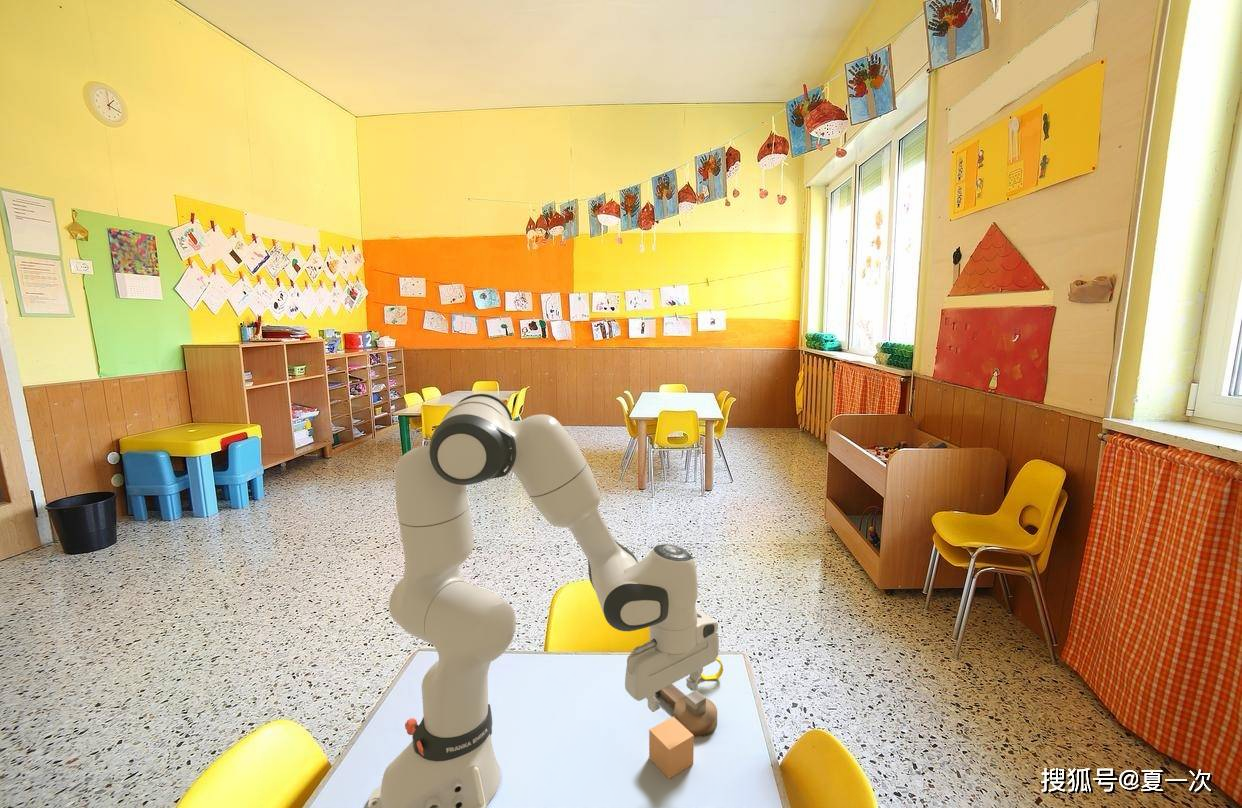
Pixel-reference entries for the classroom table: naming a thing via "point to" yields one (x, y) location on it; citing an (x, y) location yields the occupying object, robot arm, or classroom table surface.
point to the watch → (712, 677)
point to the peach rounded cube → (671, 747)
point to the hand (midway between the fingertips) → (673, 697)
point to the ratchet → (691, 710)
